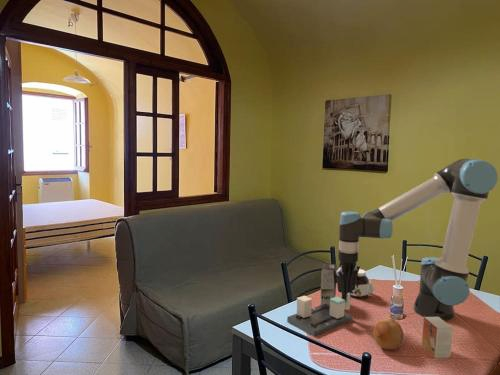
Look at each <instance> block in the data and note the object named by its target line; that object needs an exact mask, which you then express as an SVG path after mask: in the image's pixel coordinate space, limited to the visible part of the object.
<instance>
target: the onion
mask: <svg viewBox="0 0 500 375" xmlns="http://www.w3.org/2000/svg"><path fill="white" fill-rule="evenodd" d="M373 339H374V341H375V342H376V344H377V345H379V347H381V348H382V349H384V350H387V351H388V350H389V351H391V350H396V349H397V348H400V346H402V344H403V341H404V330H403V328H402V326H401V325H400V323H399V322H397V321H396V320H395V319H393V318H383V319H380V320H379V321H377V322H376V323H375V325H374V328H373Z"/></svg>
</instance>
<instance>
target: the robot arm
mask: <svg viewBox="0 0 500 375" xmlns="http://www.w3.org/2000/svg"><path fill="white" fill-rule="evenodd" d="M498 179H499V175H498V170H497V169H496V168H495V166H494V165H493V164H492V163H490V162H489V161H486V160H484V159H480V158H479V159H478V158H460V159H458V160H455V161H454V162H451V163H450V164H448V165H447V166H445V167H444V168H442V169H440V170H438V171H437V172H435V173H434V175H433V177H431V178H429V179H428V180H426V181H424V182H423V183H421V184H419V185H417V186H415V187H413V188H412V189H410V190H408V191H406V192H404V193H402V194H400V195H399V196H397V197H395V198H393V199H392V200H389V201H388V202H387V203H384V204H383V205H381V206H379V207H378V208H376V209H373V210H371V211H367V212H365V213H364V214H363V215H362V216H361V213H360V212H357V211H351V210H350V211H348V210H347V211H342V212H341V213H340V219H339V228H338V229H339V230H338V231H339V232H338V233H339V236H338V239H339V241H338V250H339V251H338V256H337V259H338V261H339V265H338V268H337V270H335V274H336V287H337V292H338V293H340V294H341V298H342V299H344V300H345V310H344V311H349V310H350V308H351V298H352V297H351V293H352V294H353V291H352V290H355V286H356V281H357V276H358V271H359V269H361V267H360V266H359V265H357V262H358V261H359V252H358V251H359V250H360V248H359V247H360V244H359V243H360V238H370V239H372V238H373V239H381V240H384V239H391V238H392V236H393V230H394V229H393V226H394V225H393V221H396V220H397V219H400V218H401V217H404V216H405V215H406V214H408V213H410V212H412V211H414V210H416V209H417V208H420V207H421V206H423V205H425V204H427V203H429V202H431V201H432V200H434V199H436V198H438V197H440V196H442V195H443V194H448V195H449V194H452V196H453V203H452V209H451V211H450V215H449V216H450V217H449V221H448V224H447V228H446V233H445V237H444V241H443V242H444V243H443V246H442V250H441V255H440V257H433V256H431V257H430V256H429V257H428V256H426V257H423V258H422V259H421V261H420V263H421V264H420V274H419V276H420V279H419V292H418V293H417V294H418V295H417V296H416V299H415V301H414V304H413V310H414V312H415V313H417V314H418V315H420V316H422V317H423V318H424V317H440V318H441V319H442V320H443V321H448V320H449V321H450V320H452V319H454V317H455V307H454V306H458V305H460V304H462V303H464V302H465V301H467V299H468V298H469V296H470V286H469V283H468V279H469V273H470V270H469V269H468V268H467V262H468V258H469V254H470V248H471V246H472V242H473V236H474V233H475V229H476V225H477V221H478V217H479V213H480V208H481V204H482V203H483V202H485V201H487V200H488V197H489V194H490V192H491V190H494V188H495V187H496V186H497V183H498ZM352 286H353V287H352Z"/></svg>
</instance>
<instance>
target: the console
mask: <svg viewBox="0 0 500 375" xmlns="http://www.w3.org/2000/svg"><path fill="white" fill-rule="evenodd" d="M329 314H330V305H328V304H323V305H321V304H320V305H318V306H315V307H312V309H311V316H308V317H305V318H303V317H301V316H299V315H297V313H294V314H291V315H288V316H287V318H286V321H287V322H286V323H289V324H291V325H293V326H295V327H297V328H298V329H300V330H301V331H303V332H304V333H306V334H309V335H310V336H312V337H316V336H318V335H320V334H322V333H323V334H324V333H325V332H327V331H330V330H333V329H335V328H337V327H339V326H342V325H345V324H348V323H349V322H352V321H353V320H354V319H353V318H354V317H353V315H352V314H351V313H348V312H346V311H344V316H343V317H341V318H338V319H337V318H335V317H332V316H330V315H329Z"/></svg>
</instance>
